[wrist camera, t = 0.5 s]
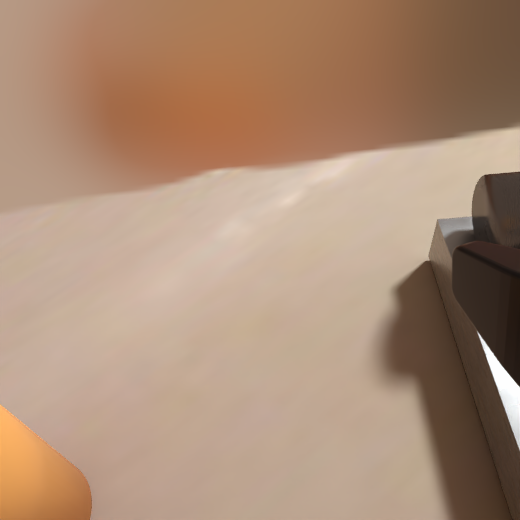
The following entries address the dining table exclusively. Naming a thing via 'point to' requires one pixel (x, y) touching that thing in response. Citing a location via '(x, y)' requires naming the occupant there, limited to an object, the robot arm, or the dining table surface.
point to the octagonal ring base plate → (466, 336)
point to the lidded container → (37, 477)
